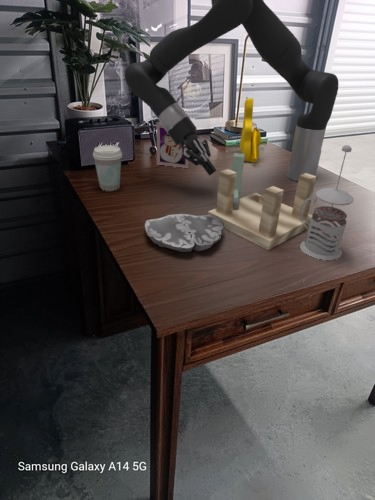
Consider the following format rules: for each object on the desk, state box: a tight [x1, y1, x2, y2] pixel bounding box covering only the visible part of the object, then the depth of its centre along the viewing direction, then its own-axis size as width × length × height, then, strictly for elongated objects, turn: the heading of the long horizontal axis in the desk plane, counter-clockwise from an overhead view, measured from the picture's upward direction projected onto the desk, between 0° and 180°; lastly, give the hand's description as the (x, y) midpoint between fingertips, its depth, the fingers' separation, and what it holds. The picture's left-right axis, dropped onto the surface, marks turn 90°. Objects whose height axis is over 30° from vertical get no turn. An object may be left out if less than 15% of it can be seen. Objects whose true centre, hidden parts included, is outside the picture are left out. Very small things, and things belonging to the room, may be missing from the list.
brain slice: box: [144, 213, 225, 253], centre depth 93 cm, size 20×17×3 cm
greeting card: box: [156, 121, 190, 169], centre depth 135 cm, size 11×7×15 cm, turn 77°
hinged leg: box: [231, 152, 245, 209], centre depth 106 cm, size 13×3×11 cm, turn 173°
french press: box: [299, 144, 355, 261], centre depth 86 cm, size 10×12×25 cm
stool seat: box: [207, 168, 317, 251], centre depth 100 cm, size 20×20×14 cm
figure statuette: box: [239, 97, 262, 163], centre depth 141 cm, size 18×8×22 cm, turn 174°
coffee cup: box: [92, 145, 123, 192], centre depth 116 cm, size 8×8×12 cm
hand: (213, 173), depth 113 cm, fingers closed
